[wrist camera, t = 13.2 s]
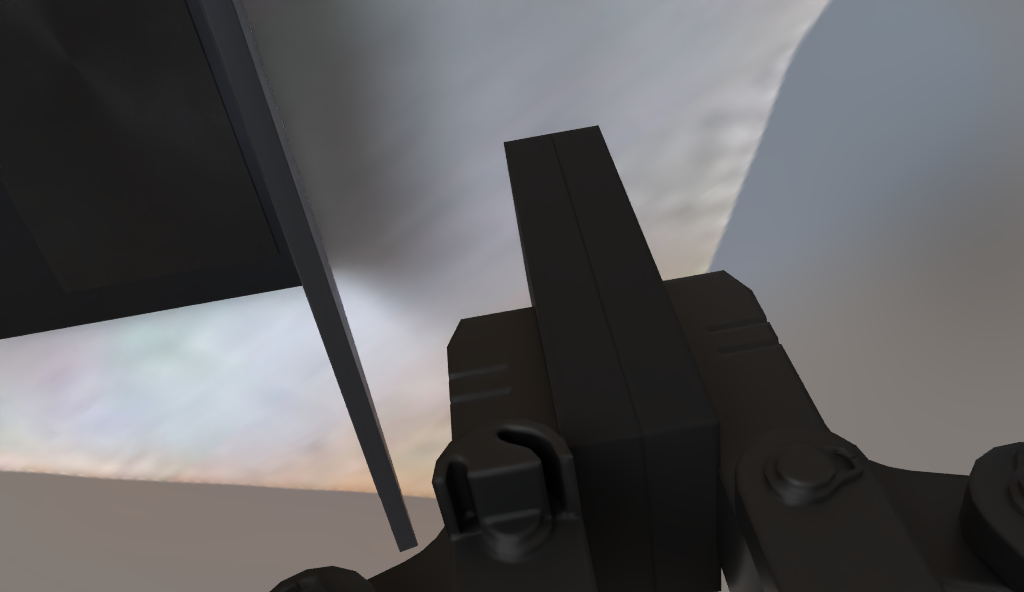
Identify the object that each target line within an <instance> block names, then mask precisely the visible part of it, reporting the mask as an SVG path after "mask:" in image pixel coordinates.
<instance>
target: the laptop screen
mask: <svg viewBox="0 0 1024 592" xmlns="http://www.w3.org/2000/svg"><path fill="white" fill-rule="evenodd" d="M199 2H200V5H201V8H202V11H203V13H204V16H205V19H206V22H207V24H208V27H209V30H210V33H211V35H212V38H213V41H214V44H215V46H216V49H217V52H218V55H219V57H220V60H221V63H222V66H223V68H224V71H225V74H226V77H227V79H228V82H229V85H230V88H231V90H232V93H233V96H234V99H235V101H236V104H237V107H238V110H239V112H240V115H241V118H242V121H243V123H244V126H245V129H246V132H247V134H248V137H249V140H250V143H251V145H252V148H253V151H254V154H255V156H256V159H257V162H258V165H259V167H260V170H261V173H262V176H263V178H264V181H265V184H266V187H267V189H268V192H269V195H270V198H271V200H272V203H273V206H274V209H275V211H276V214H277V217H278V220H279V222H280V225H281V228H282V231H283V233H284V236H285V239H286V242H287V244H288V247H289V250H290V253H291V255H292V258H293V261H294V264H295V266H296V269H297V272H298V275H299V277H300V280H301V283H302V286H303V288H304V291H305V294H306V297H307V299H308V302H309V305H310V308H311V310H312V313H313V316H314V319H315V321H316V324H317V327H318V330H319V332H320V335H321V338H322V341H323V343H324V346H325V349H326V352H327V354H328V357H329V360H330V363H331V365H332V368H333V371H334V374H335V376H336V379H337V382H338V385H339V387H340V390H341V393H342V396H343V398H344V401H345V404H346V407H347V409H348V412H349V415H350V418H351V420H352V423H353V426H354V429H355V431H356V434H357V437H358V440H359V442H360V445H361V448H362V451H363V453H364V456H365V459H366V462H367V464H368V467H369V470H370V473H371V475H372V478H373V481H374V484H375V486H376V489H377V492H378V495H379V497H380V498H381V501H382V504H383V506H384V509H385V512H386V515H387V518H388V520H389V523H390V526H391V529H392V531H393V534H394V537H395V540H396V542H397V545H398V548H399V550H400V552H402V551H405V550H408V549H410V548H413V547H416V546H417V545H418V543H417V540H416V537H415V534H414V531H413V528H412V524H411V521H410V518H409V515H408V511H407V508H406V505H405V502H404V499H403V495H402V492H401V489H400V486H399V483H398V480H397V476H396V473H395V470H394V467H393V464H392V460H391V457H390V454H389V451H388V448H387V444H386V441H385V438H384V435H383V432H382V429H381V425H380V422H379V419H378V416H377V413H376V409H375V406H374V403H373V400H372V397H371V393H370V390H369V387H368V384H367V381H366V378H365V374H364V371H363V368H362V365H361V362H360V358H359V355H358V352H357V349H356V346H355V342H354V339H353V336H352V333H351V330H350V327H349V323H348V320H347V317H346V314H345V311H344V307H343V304H342V301H341V298H340V295H339V291H338V288H337V285H336V282H335V279H334V276H333V273H332V270H331V267H330V264H329V261H328V258H327V255H326V252H325V249H324V246H323V243H322V240H321V237H320V234H319V231H318V228H317V225H316V222H315V219H314V216H313V213H312V210H311V207H310V204H309V201H308V198H307V195H306V192H305V189H304V186H303V183H302V180H301V177H300V174H299V171H298V168H297V165H296V162H295V159H294V156H293V153H292V150H291V147H290V144H289V141H288V138H287V135H286V132H285V129H284V126H283V123H282V120H281V117H280V114H279V111H278V108H277V105H276V102H275V99H274V96H273V93H272V90H271V87H270V84H269V81H268V78H267V75H266V72H265V69H264V66H263V63H262V60H261V57H260V54H259V51H258V48H257V45H256V42H255V39H254V36H253V33H252V30H251V27H250V24H249V21H248V18H247V15H246V12H245V9H244V6H243V3H242V0H199Z"/></svg>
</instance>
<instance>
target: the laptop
mask: <svg viewBox="0 0 1024 592" xmlns="http://www.w3.org/2000/svg"><path fill="white" fill-rule="evenodd" d="M297 286H302V283H301V280H300V277H299V275H298V272H297V269H296V266H295V264H294V261H293V258H292V255H291V253H290V250H289V247H288V244H287V242H286V239H285V236H284V233H283V231H282V228H281V225H280V222H279V220H278V217H277V214H276V211H275V209H274V206H273V203H272V200H271V198H270V195H269V192H268V189H267V187H266V184H265V181H264V178H263V176H262V173H261V170H260V167H259V165H258V162H257V159H256V156H255V154H254V151H253V148H252V145H251V143H250V140H249V137H248V134H247V132H246V129H245V126H244V123H243V121H242V118H241V115H240V112H239V110H238V107H237V104H236V101H235V99H234V96H233V93H232V90H231V88H230V85H229V82H228V79H227V77H226V74H225V71H224V68H223V66H222V63H221V60H220V57H219V55H218V52H217V49H216V46H215V44H214V41H213V38H212V35H211V33H210V30H209V27H208V24H207V22H206V19H205V16H204V13H203V11H202V8H201V5H200V2H199V0H0V339H5V338H11V337H17V336H22V335H28V334H34V333H39V332H45V331H50V330H56V329H62V328H67V327H73V326H78V325H84V324H90V323H95V322H101V321H107V320H112V319H118V318H123V317H129V316H135V315H140V314H146V313H151V312H157V311H163V310H168V309H174V308H179V307H185V306H191V305H196V304H202V303H208V302H213V301H219V300H224V299H230V298H236V297H241V296H247V295H252V294H258V293H264V292H269V291H275V290H281V289H286V288H292V287H297Z"/></svg>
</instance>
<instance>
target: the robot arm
mask: <svg viewBox="0 0 1024 592" xmlns="http://www.w3.org/2000/svg"><path fill="white" fill-rule="evenodd" d="M504 147H505V153H506V159H507V165H508V171H509V176H510V182H511V188H512V194H513V200H514V206H515V212H516V218H517V224H518V229H519V235H520V241H521V247H522V253H523V259H524V265H525V271H526V276H527V282H528V288H529V293H530V298H531V303H532V307H528V308H522V309H517V310H511V311H506V312H500V313H494V314H489V315H483V316H477V317H472V318H466V319H461V320H460V322H459V324H458V326H457V328H456V330H455V332H454V334H453V336H452V338H451V340H450V342H449V344H448V346H447V356H448V374H449V392H450V402H451V405H450V411H451V429H452V441H451V442H450V443H449V444H448V446H447V447H446V449H445V450H444V451H443V453H442V454H441V455H440V457H439V458H438V459H437V461H436V465H435V469H434V474H433V479H432V485H433V488H434V491H435V495H436V498H437V501H438V504H439V508H440V511H441V514H442V517H443V521H444V524H445V526H444V528H443V529H442V531H441V532H440V533H439V535H438V536H437V538H436V539H435V540H433V541H432V542H431V543H430V544H429V545H428V546H427V547H426V548H425V549H424V550H422V551H421V552H420V553H418V554H416V555H415V556H413V557H411V558H410V559H408V560H407V561H405V562H403V563H401V564H399V565H397V566H395V567H393V568H391V569H388V570H386V571H384V572H382V573H380V574H378V575H376V576H374V577H372V578H370V579H368V580H366V579H365V578H364V577H362V576H361V575H360V574H359V573H357V572H356V571H353V570H348V569H344V568H339V567H335V566H329V567H322V568H314V569H307V570H305V571H303V572H300V573H298V574H296V575H294V576H292V577H290V578H288V579H286V580H284V581H281V582H280V583H279V584H278V585H277V586H276V587H275V588H273V589H272V590H271V591H270V592H718V591H721V568H722V570H723V573H724V576H725V579H726V582H727V585H728V588H729V591H730V592H1024V442H1018V443H1013V444H1008V445H1004V446H999V447H994V448H993V449H991V450H990V451H988V452H987V453H985V454H984V455H983V456H981V457H980V458H979V459H977V460H976V461H975V464H974V466H973V468H972V471H971V473H970V475H969V476H967V475H954V474H944V473H931V472H920V471H910V470H904V469H899V468H893V467H888V466H885V465H882V464H879V463H876V462H874V461H871V460H868V458H867V457H866V456H865V455H864V454H863V453H862V452H861V451H860V449H858V447H857V446H856V445H854V444H852V443H851V442H849V441H847V440H845V439H844V438H842V437H840V436H838V435H836V434H835V433H832V432H831V431H830V430H829V428H828V427H827V426H826V424H825V423H824V421H823V419H822V418H821V416H820V414H819V412H818V410H817V408H816V406H815V405H814V403H813V401H812V399H811V397H810V396H809V394H808V392H807V390H806V388H805V386H804V384H803V383H802V381H801V379H800V377H799V375H798V374H797V372H796V370H795V368H794V366H793V364H792V363H791V361H790V359H789V357H788V355H787V354H786V352H785V350H784V348H783V346H782V345H781V344H779V342H778V337H777V335H776V334H775V332H774V330H773V328H772V326H771V325H770V323H769V322H767V319H766V316H765V314H764V312H763V310H762V308H761V306H760V305H759V303H758V301H757V299H756V297H755V295H754V294H753V292H752V290H751V289H749V288H748V287H746V286H745V285H743V284H742V283H741V282H739V281H738V280H737V279H735V278H734V277H732V276H731V275H730V274H728V273H727V272H725V271H724V270H722V271H717V272H711V273H705V274H700V275H694V276H688V277H683V278H677V279H672V280H666V281H662V278H661V276H660V274H659V271H658V269H657V266H656V264H655V261H654V259H653V257H652V254H651V252H650V249H649V247H648V245H647V242H646V240H645V237H644V235H643V232H642V230H641V228H640V225H639V223H638V220H637V218H636V215H635V213H634V211H633V208H632V206H631V203H630V201H629V198H628V196H627V194H626V191H625V189H624V186H623V184H622V181H621V179H620V177H619V174H618V172H617V169H616V167H615V165H614V162H613V160H612V157H611V155H610V152H609V150H608V148H607V145H606V143H605V140H604V138H603V135H602V133H601V131H600V128H599V126H598V125H597V126H592V127H586V128H580V129H575V130H569V131H564V132H558V133H553V134H547V135H541V136H536V137H530V138H525V139H519V140H514V141H508V142H504Z"/></svg>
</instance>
